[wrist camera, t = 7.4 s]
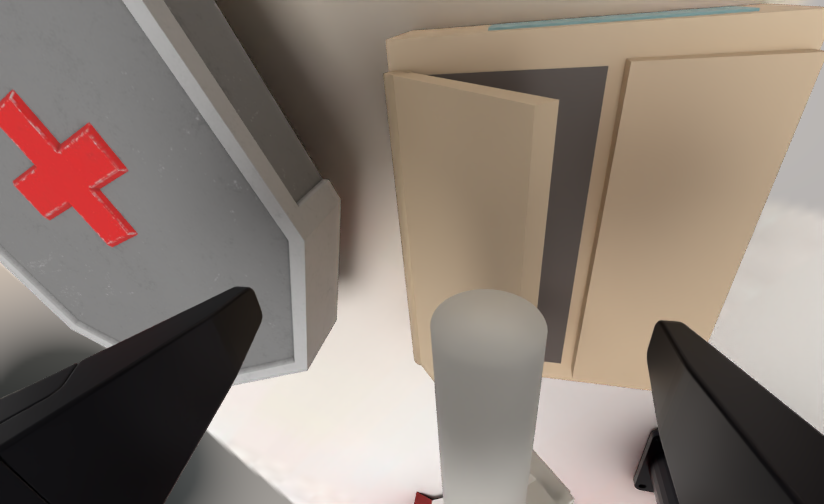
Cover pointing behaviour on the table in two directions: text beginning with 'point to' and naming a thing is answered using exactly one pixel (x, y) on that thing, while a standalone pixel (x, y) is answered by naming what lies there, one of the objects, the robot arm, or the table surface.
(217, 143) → the first aid kit
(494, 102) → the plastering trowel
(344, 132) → the table surface
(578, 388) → the table surface
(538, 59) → the carton
